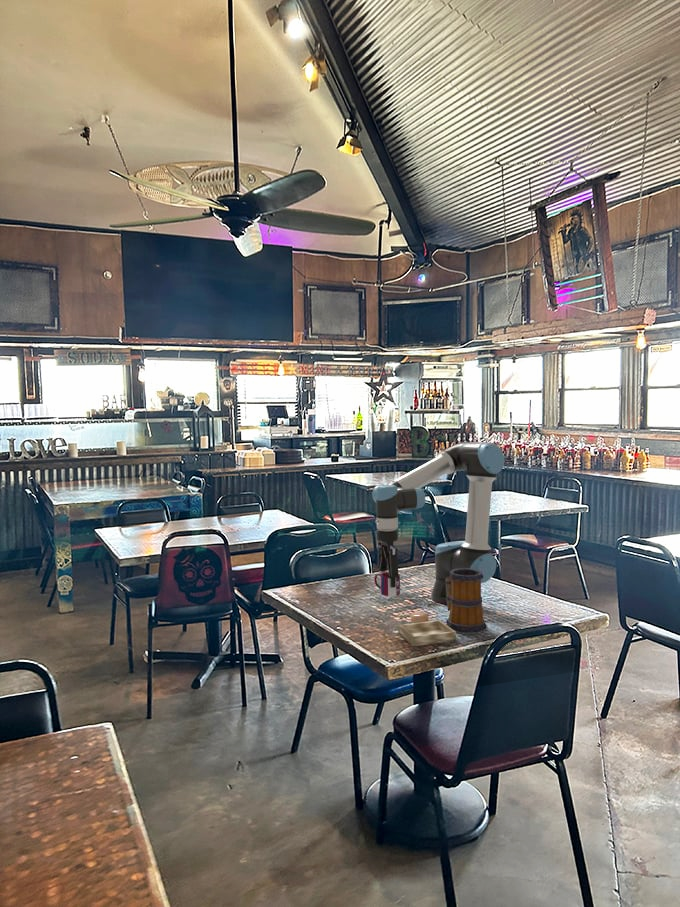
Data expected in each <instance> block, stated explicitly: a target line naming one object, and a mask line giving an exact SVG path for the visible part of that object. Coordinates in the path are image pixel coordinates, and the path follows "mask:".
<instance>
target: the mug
mask: <svg viewBox="0 0 680 907" xmlns="http://www.w3.org/2000/svg"><path fill="white" fill-rule="evenodd" d="M481 579H483V575H482V572H481V571H479V570H476V569H470V568H457V569H453V570H451V571H450V573H449V576H448V577H446V578H445V584H446V591H447V596H446V600H447V604H446V607H447V608H446V609H447V612H449V613H448V614H449V615H448V618H447V619H446V621H445V622H446V625H447V626H449V627H450V628H451V629H453V630H454V631H456V634H461V633H464V634H463V635H475V634H474V633H477V634H478V633H479V634H480V633H484V632H486V631H487V629H486V628H488V625H487V623H486V620H485V618H484V612H483V597H482V583H481ZM485 630H486V631H485ZM483 631H484V632H483Z"/></svg>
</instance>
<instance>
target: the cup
mask: <svg viewBox="0 0 680 907" xmlns="http://www.w3.org/2000/svg"><path fill="white" fill-rule="evenodd" d="M398 574H399V577H397V578H396V596H395V597H397V596H399V595H400V594H401V574H400V573H398ZM378 576H379V578H380V577H381V587H380V584H379V583H378V581H377V580H378V579H377V577H378ZM387 577H389V573H388V572H387V573H382V574H380V573H376V574H375V575H374V584H375V586H376V587H377V588H378V589H379V590H380V589H381V590H380V594H381V595H382V596H385V597H389V596H388V578H387Z"/></svg>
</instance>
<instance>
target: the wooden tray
mask: <svg viewBox="0 0 680 907" xmlns="http://www.w3.org/2000/svg"><path fill="white" fill-rule="evenodd" d="M446 624H447V623H446ZM446 624H445V623H444V622H443V621H442V620H439V619H438V620H431V621H429V622H421V623H412V624H411V623H405V624H398V634H399V636H401V637H402V638H403V639H404V640H405V641H407V642H408V643H409V644H410V645H411V646H412V647H418V646H424V645H425V646H426V645H432V644H433V645H434V644H439V643H447V642H455V641H457V633H456V631H454V630H453V629H451V628H450V627H449V626H447V625H446Z"/></svg>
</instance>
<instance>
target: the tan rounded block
mask: <svg viewBox="0 0 680 907" xmlns="http://www.w3.org/2000/svg"><path fill="white" fill-rule="evenodd" d="M421 622H429V613H427V612H423V611H416V612H415V611H414V612H411V613H410V624H412V623H421Z"/></svg>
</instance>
